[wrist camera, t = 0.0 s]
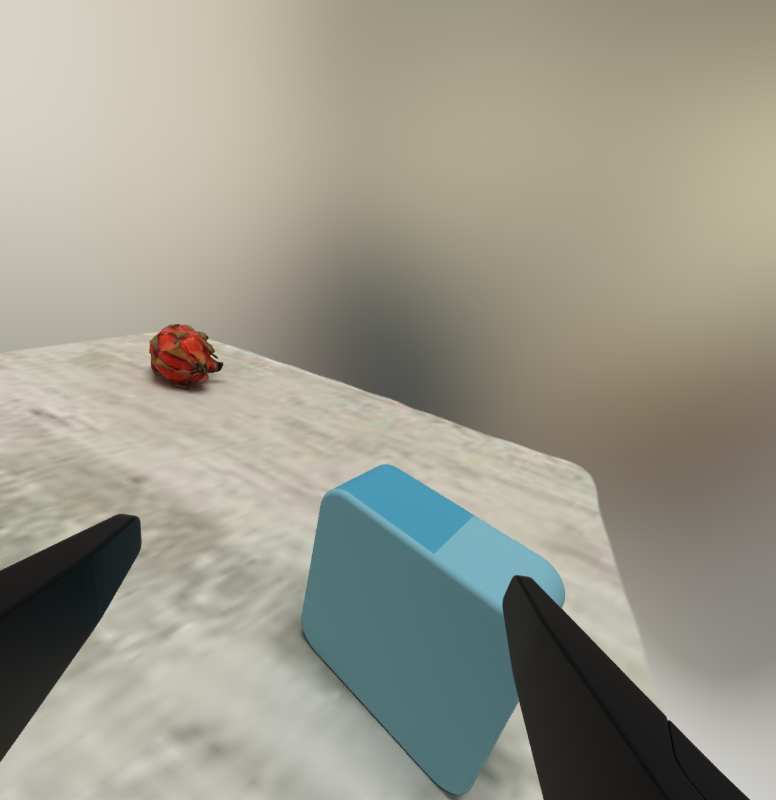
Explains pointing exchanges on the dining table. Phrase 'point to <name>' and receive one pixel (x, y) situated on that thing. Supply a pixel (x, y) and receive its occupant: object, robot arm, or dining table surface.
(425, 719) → the light blue flat block
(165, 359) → the dragon fruit
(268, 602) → the dining table surface
